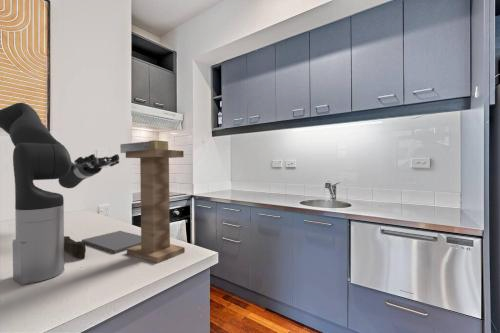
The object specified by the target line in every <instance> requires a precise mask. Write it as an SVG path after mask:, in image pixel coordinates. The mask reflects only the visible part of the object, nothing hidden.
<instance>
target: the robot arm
mask: <svg viewBox="0 0 500 333" xmlns="http://www.w3.org/2000/svg"><path fill="white" fill-rule="evenodd" d="M0 128H1V129H2V130H3V131H4V132H6V133H7V135H9V137H10V140H11V143H12V144H13V145H14V148H13V151H12V165H13V166H12V167H13V174H14V175H13V176H14V190H15V191H14V194H15V196H14V199H15V201H14V202H15V203H14V206H15V208H14V209H15V215H14V216H15V239H13V240H12V280H14V281H15V282H17V283H18V284H19V285H21V286H22V285H26V284H31V283H38V282H42V281H45V280H50V279H51V278H54V277H56V276H59V275H61V274H62V273H63V272H64V271H65V249H64V236H65V215H64V213H65V212H64V210H65V209H64V208H65V205H64V204H65V203H64V200H65V198H64V195H63V194H61V193H58V192H52V191H48V190H44V189H42V188H40V187H38V186H36V185H35V184H34V181H42V180H43V181H45V180H57V181H58V183H59V186H61V187H62V188H65V189H73V188H76V187H77V186H79V185H80V184H81V182H83V181H85V180H86V179H88V178H91V177H93V176H95V175H97V174H98V173H100V172H101V171H102V170H103V168H104V167H107V166H109V167H110V168H111V167H114V166H116V165H118V164H120V155H119V154H114V155H112V156H104V157H96V155H95V153H94V154H90V155H88V156H85V157H82V156H79V157H78V158H76V159H74V162H72V159H71V158H72V157H71V154H70V153H69V151H68V149H67V148H66V147H65V146H64V145H63V144H62V143H61V142H60V141H58V140H57V139H56V138H55V137H54V135H52V133H51V132H50V130H49V129H48V127H47V126H45V124H44V123H43V122H42V120H41V118H40V116H39V114H38V112H37V111H36V110H35V109H34V108H33V107H32V106H31V105H29V104H27V103H25V102H16V103H14V104H11V105H8V106H6V107H4V108H2V109H0Z"/></svg>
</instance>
